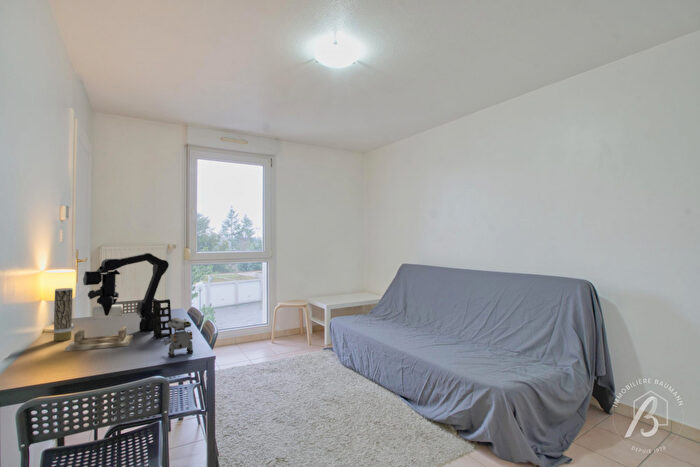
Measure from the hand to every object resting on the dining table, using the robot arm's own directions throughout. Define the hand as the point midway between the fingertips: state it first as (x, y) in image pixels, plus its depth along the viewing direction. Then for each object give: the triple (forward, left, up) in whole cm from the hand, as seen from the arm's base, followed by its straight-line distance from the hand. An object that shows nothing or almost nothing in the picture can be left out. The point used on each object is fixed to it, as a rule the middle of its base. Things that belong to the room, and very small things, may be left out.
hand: (107, 314), depth 181 cm
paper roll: (0, 0, -1) cm, 1 cm away
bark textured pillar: (+19, -2, -12) cm, 22 cm away
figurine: (-34, +43, -12) cm, 56 cm away
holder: (-25, +11, -12) cm, 30 cm away
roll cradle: (0, +14, -11) cm, 18 cm away
